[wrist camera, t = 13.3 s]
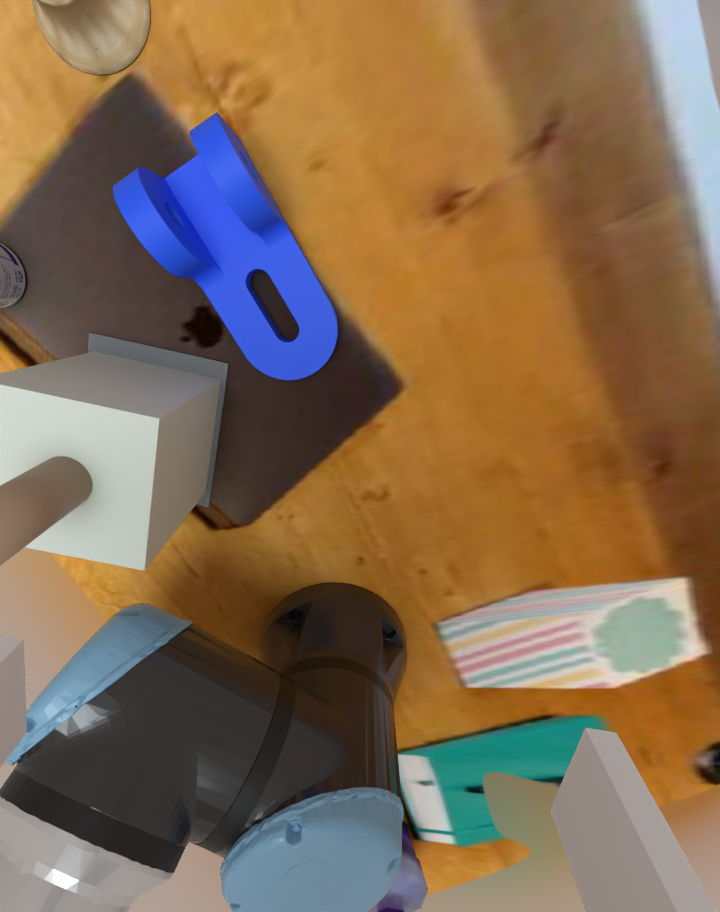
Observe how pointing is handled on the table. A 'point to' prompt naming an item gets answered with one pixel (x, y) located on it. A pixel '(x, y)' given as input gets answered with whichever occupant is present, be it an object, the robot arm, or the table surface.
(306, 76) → the table surface
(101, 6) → the hand bell
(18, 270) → the energy drink
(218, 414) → the mat
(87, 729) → the robot arm
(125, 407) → the white tall block
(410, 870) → the potion bottle
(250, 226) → the bracket
